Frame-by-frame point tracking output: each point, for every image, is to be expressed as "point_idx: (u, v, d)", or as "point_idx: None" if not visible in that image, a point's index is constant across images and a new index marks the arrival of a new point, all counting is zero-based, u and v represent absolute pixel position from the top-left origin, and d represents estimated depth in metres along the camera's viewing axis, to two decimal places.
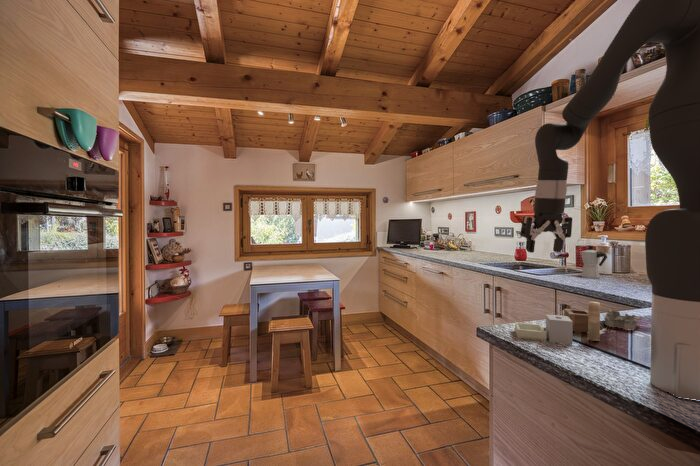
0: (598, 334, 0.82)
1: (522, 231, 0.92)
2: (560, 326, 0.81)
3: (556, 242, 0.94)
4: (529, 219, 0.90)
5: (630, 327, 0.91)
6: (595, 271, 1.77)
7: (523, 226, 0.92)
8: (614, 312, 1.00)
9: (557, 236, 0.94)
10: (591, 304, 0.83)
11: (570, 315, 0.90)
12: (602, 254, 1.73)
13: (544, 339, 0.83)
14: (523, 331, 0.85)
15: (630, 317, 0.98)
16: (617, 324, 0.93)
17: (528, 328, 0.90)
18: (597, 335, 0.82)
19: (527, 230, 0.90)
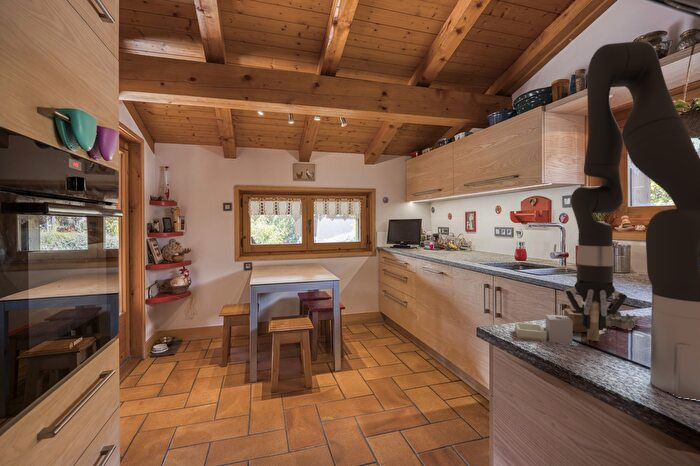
0: (597, 334, 0.82)
1: (572, 304, 0.86)
2: (560, 326, 0.81)
3: None
4: (567, 293, 0.84)
5: (627, 327, 0.91)
6: None
7: (569, 300, 0.85)
8: None
9: (599, 310, 0.83)
10: None
11: (570, 315, 0.90)
12: None
13: (544, 339, 0.83)
14: (523, 331, 0.85)
15: (631, 317, 0.98)
16: (615, 323, 0.94)
17: (528, 328, 0.90)
18: (596, 335, 0.82)
19: (573, 304, 0.84)
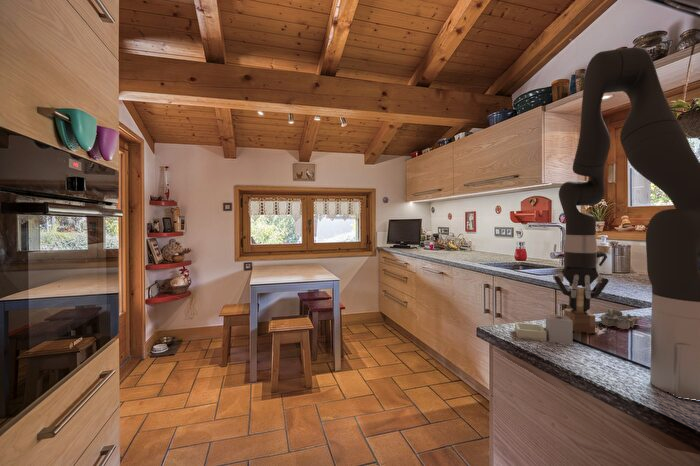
0: None
1: (561, 289, 0.94)
2: (560, 326, 0.81)
3: None
4: (555, 278, 0.93)
5: (623, 326, 0.92)
6: None
7: None
8: (616, 312, 1.00)
9: None
10: (576, 290, 0.91)
11: (570, 315, 0.90)
12: (602, 254, 1.73)
13: (544, 339, 0.83)
14: (523, 331, 0.85)
15: (632, 317, 0.97)
16: (612, 323, 0.94)
17: (528, 328, 0.90)
18: None
19: (561, 288, 0.92)
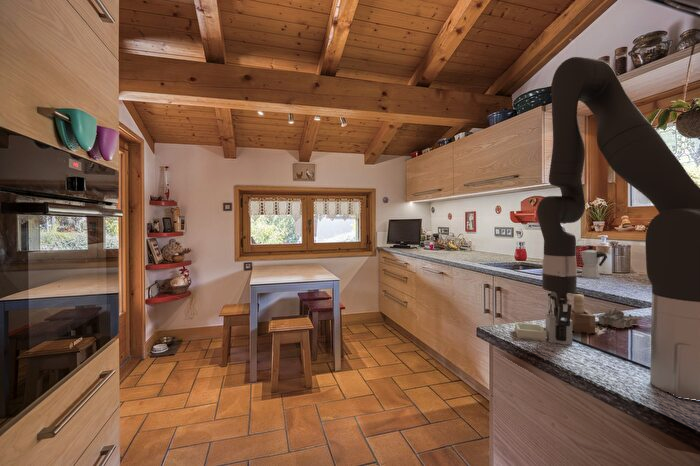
0: None
1: None
2: None
3: None
4: (548, 295, 0.90)
5: (619, 325, 0.93)
6: (595, 271, 1.77)
7: None
8: (618, 312, 1.00)
9: None
10: (576, 296, 0.91)
11: None
12: (602, 254, 1.73)
13: (544, 339, 0.83)
14: (523, 331, 0.85)
15: None
16: (608, 322, 0.95)
17: (528, 328, 0.90)
18: None
19: (548, 306, 0.89)
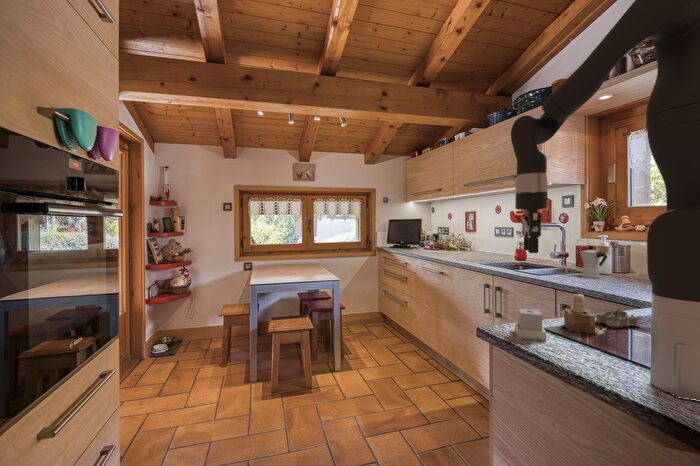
0: None
1: None
2: (530, 319, 0.85)
3: None
4: (522, 216, 0.93)
5: (613, 324, 0.94)
6: (595, 271, 1.77)
7: None
8: (621, 312, 1.00)
9: None
10: (576, 296, 0.91)
11: (570, 315, 0.90)
12: (602, 254, 1.73)
13: (544, 339, 0.83)
14: (523, 331, 0.85)
15: None
16: (604, 320, 0.97)
17: None
18: None
19: None
